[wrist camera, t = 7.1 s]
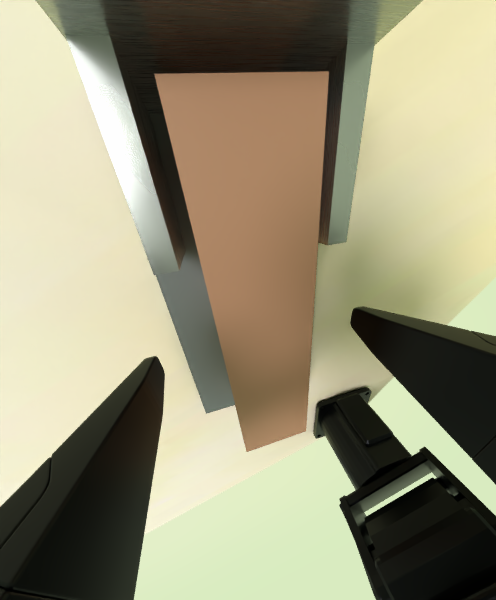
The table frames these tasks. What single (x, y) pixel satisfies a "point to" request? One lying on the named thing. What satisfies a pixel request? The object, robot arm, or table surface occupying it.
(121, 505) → the robot arm
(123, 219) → the table surface
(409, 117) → the table surface
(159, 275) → the board
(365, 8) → the bracket
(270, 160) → the rail
